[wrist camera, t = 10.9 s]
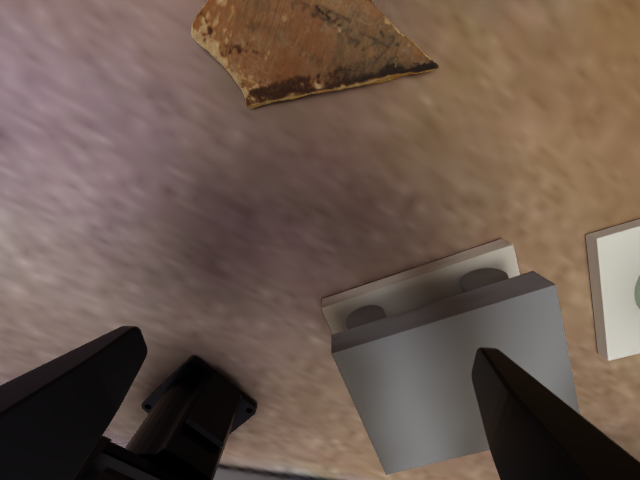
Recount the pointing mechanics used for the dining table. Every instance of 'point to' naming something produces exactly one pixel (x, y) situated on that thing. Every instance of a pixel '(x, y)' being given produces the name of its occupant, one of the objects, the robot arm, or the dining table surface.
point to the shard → (304, 46)
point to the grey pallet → (443, 349)
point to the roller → (637, 292)
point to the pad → (615, 288)
